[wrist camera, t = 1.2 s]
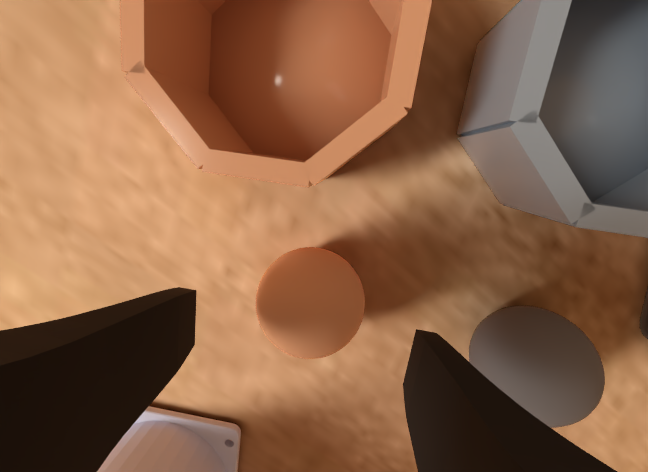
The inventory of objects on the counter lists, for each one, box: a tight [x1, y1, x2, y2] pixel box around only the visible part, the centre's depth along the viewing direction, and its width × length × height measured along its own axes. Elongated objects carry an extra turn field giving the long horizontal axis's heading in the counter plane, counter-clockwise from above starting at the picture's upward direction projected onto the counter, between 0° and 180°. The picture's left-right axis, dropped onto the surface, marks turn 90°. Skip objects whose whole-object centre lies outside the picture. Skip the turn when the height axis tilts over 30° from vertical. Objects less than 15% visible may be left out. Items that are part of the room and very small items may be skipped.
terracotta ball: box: [256, 247, 365, 359], centre depth 13 cm, size 4×4×4 cm
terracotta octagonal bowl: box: [120, 0, 432, 187], centre depth 10 cm, size 8×8×4 cm
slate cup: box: [457, 0, 648, 238], centre depth 10 cm, size 8×8×4 cm
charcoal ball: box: [469, 306, 605, 427], centre depth 12 cm, size 4×4×4 cm
